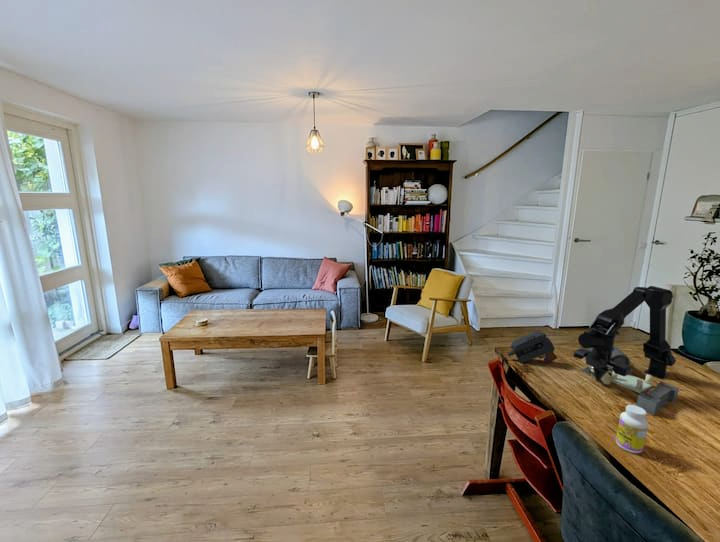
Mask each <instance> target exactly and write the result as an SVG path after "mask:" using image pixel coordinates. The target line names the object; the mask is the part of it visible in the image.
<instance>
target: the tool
mask: <svg viewBox="0 0 720 542" xmlns="http://www.w3.org/2000/svg"><path fill="white" fill-rule="evenodd" d="M509 348H510V349H511V350H510V351H508V352H507V355H508V357H510V356H513V355H515V357H516V359H517V360H518V362H519V363H521V364H522V363H525V362H529V361H531V360H533V359H536V358H538V359H543V360H544V362H545V364H549V363H551V362H553V361H556V360H557V358H558V357H557V355H556V354H555V346H554V344H553V342H552V341H551V339H550V338H549V337H547V335H546V333H545V332H544V331H543V332H542V331H541V330H536V331H534V332H532V333H529V334H526V335H524V336H522V337H519V338H517V339H514V340H513V341H512V342H511V345H509Z"/></svg>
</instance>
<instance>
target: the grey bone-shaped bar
mask: <svg viewBox="0 0 720 542" xmlns="http://www.w3.org/2000/svg"><path fill="white" fill-rule="evenodd" d="M679 389H680V388H679V387H677V386H674V385H672V384H669V383H666V382H664V381H660V382H658V383H657V384H656V387H654V388H653V389H652V390H650V391H648V392H642V393H639V395H638V396H637V400H636V404H635V406H638V407H641V408H643V409H644V410H645V411H646V414H649V415H651V416H655V415H657V414H658V413H659V410H660V409H661V408H662V407H664V406H665V405H666V404H668V403H672V404H673V403H674V402H676V401H677V400H678V398H677V397H678V393H679Z"/></svg>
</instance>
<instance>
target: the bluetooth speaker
mask: <svg viewBox="0 0 720 542" xmlns="http://www.w3.org/2000/svg"><path fill="white" fill-rule="evenodd" d="M613 348H614V351H612V358H613V359H612V360H611V362H613V363H615V364H618V363H620V362H621V363H624V364H627V365H629V366H631V360H630V358H629V356H628V355H626V354H625V352H623V351H622V350H621V349H619V348H618V347H617V346H616V345H613ZM585 349H586V350H589V351H592V350H593V348H585ZM611 371H613V369H612V370H611Z"/></svg>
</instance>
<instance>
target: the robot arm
mask: <svg viewBox="0 0 720 542" xmlns="http://www.w3.org/2000/svg"><path fill="white" fill-rule="evenodd" d="M673 298H674V293H673V291H672V290H670V289H667V288H662V287H659V286H654V285H650V286H648V287H645V286H635V287H634V288H633V290H632V292H631V293H630V294H628V295H627V296H626V297H624V298H623V299H622V300H621V301H620V302H619V303H617V304H616V305H615V306H614V307H612V308H609V309H605V310H603V311H602V312H600V313H599V314H597V315H596V317H595V318H594V319H593V321H592V323H591V324H590V325H589V326H588V330H587V329H586V330H584V332H583V333H581V334H580V335H579V336H578V337H577V340H578V344H579V346H580V348H579V349H576V350H574V351H573V358H576V359H578V360H582V359H584V358H585V365H586V366H592V367H593V370H594V373H595V377H594V378H595V380H596V381H598V382H600V381H601V379H602V377H603V376H604V375H605V374H606V372H610V371H612V372H613V371H614V373H616V374H619V375H621V376H626V375H628V374H630V375H631V374H632V372H633V368H632V366H631V365H630V366H629V365H627V364H624V363H621V362H620V363H618V364H615V363H613V362H611V360H612V359H613V358H612V351H614V348H613V345H614V344H615V340H616V339H615V338H616V336H619V335H620V334H621V333H620V332H619V331H618V330H619V329H621V327H622V326H623V325H624V323H625V319H626V317H627V316H628V315H629V314H631V313H633V311H634V310H636V309H637V308H638V307H639V306H640V305H642V304H643V302H645V303H646V305H647V306H648V308H649V339H648V340H647V341H645V342H643V344H642V345H643V349H642V351H643V353H644V358H646V359H649V362H648V366H647V367H648V368H647V369H645V370H644V371H643V372H644V373H646V374H649V375H652V377H656V378H659V379H662V380H663V379H665V378H667V377H668V376H670V373H667V370H668V366H669V367H673V366H674V365H675V364H676V361H677V360H676V358H675V357H674V355H673V354H672V347H671V345H670V344H669V343H668V341H667V339H666V336H667V335H666V331H667V329H666V328H667V327H666V326H667V308H668V307H669V306H670V305H671V304H672V303H673ZM614 346H615V345H614ZM586 348H593V350H592V351H589V350H587V349H586ZM612 369H613V370H612Z"/></svg>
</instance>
